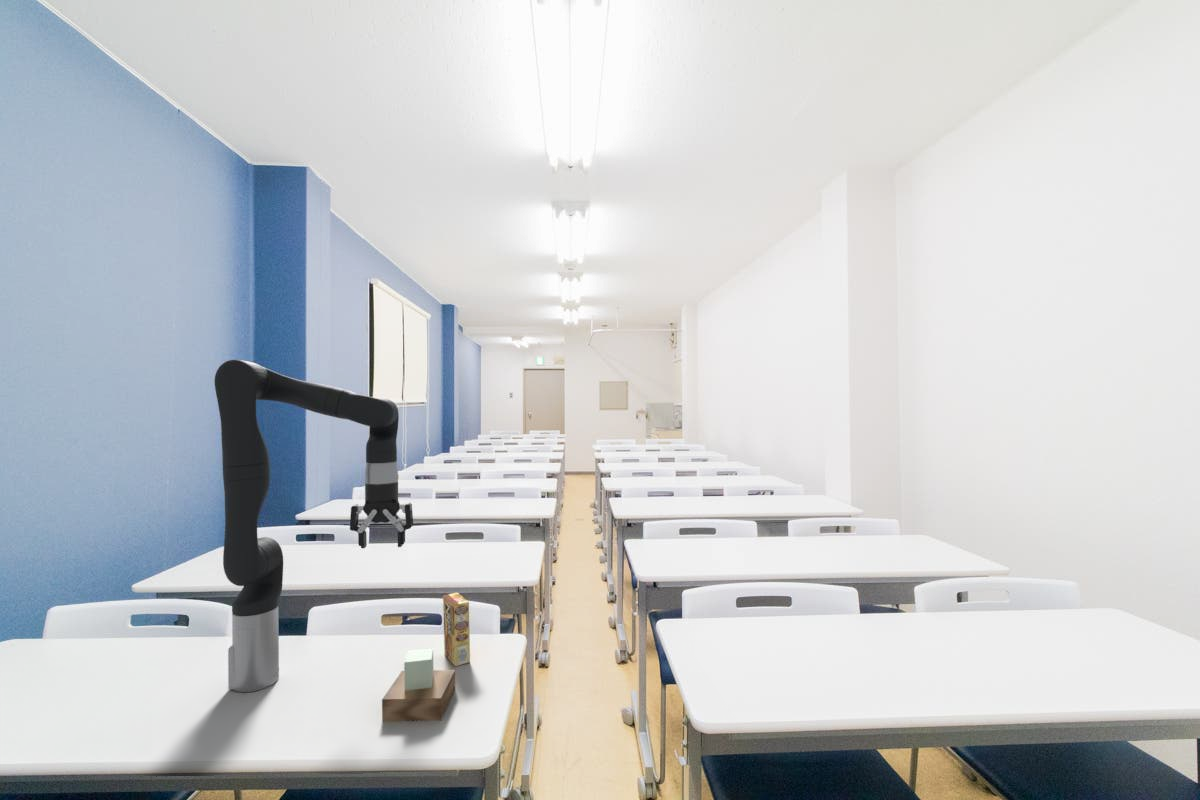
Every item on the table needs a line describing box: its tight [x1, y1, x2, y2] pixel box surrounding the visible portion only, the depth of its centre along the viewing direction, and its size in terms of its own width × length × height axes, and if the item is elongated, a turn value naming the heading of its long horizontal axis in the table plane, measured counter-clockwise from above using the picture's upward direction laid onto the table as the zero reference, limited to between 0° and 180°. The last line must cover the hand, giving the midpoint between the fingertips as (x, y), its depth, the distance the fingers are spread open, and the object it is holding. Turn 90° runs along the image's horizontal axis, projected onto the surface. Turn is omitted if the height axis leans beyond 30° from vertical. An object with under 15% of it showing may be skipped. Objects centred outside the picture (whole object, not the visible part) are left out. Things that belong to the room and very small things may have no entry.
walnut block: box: [381, 669, 456, 723], centre depth 121 cm, size 12×12×5 cm
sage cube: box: [403, 647, 434, 691], centre depth 121 cm, size 6×6×6 cm
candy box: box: [442, 592, 471, 667], centre depth 142 cm, size 9×4×15 cm, turn 33°
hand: (382, 546), depth 136 cm, fingers open, 8 cm apart
